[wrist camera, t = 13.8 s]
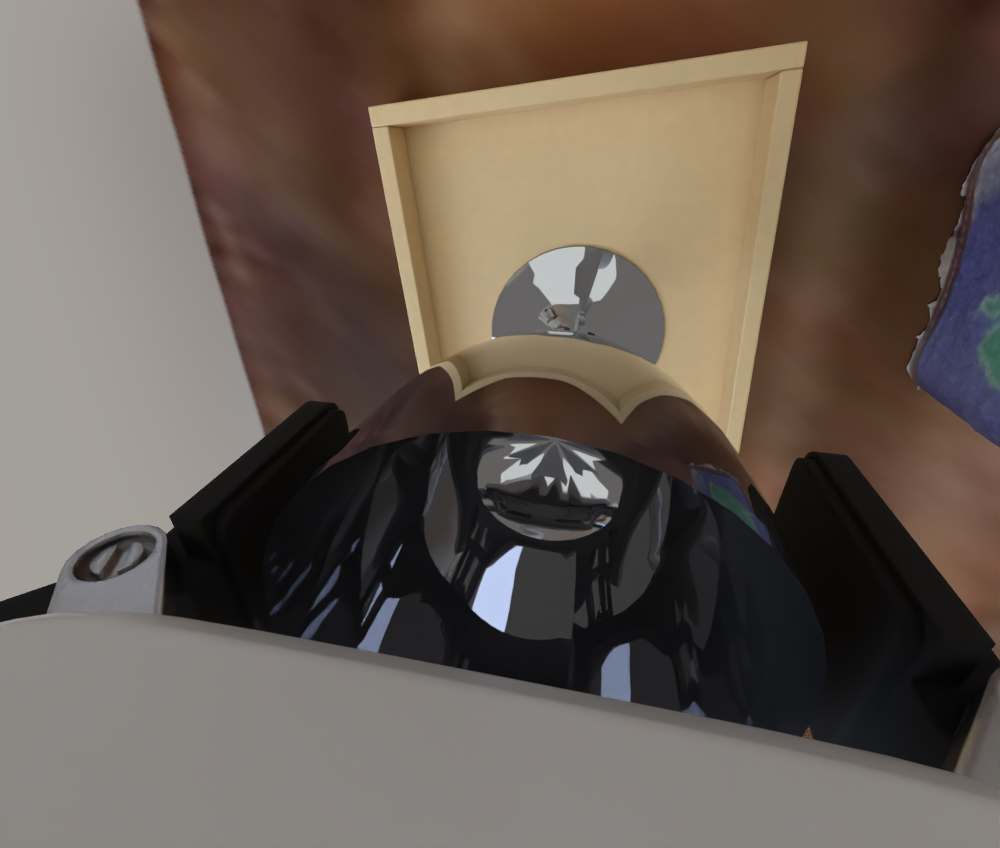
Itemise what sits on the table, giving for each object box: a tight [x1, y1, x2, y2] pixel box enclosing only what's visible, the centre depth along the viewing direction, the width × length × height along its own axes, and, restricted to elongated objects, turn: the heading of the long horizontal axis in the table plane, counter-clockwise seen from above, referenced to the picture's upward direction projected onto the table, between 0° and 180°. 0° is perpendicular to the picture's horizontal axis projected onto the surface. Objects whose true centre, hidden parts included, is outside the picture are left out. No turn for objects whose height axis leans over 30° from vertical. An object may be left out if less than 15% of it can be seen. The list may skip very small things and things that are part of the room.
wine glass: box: [261, 245, 827, 737], centre depth 13 cm, size 8×8×15 cm
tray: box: [368, 41, 808, 454], centre depth 19 cm, size 17×13×2 cm
